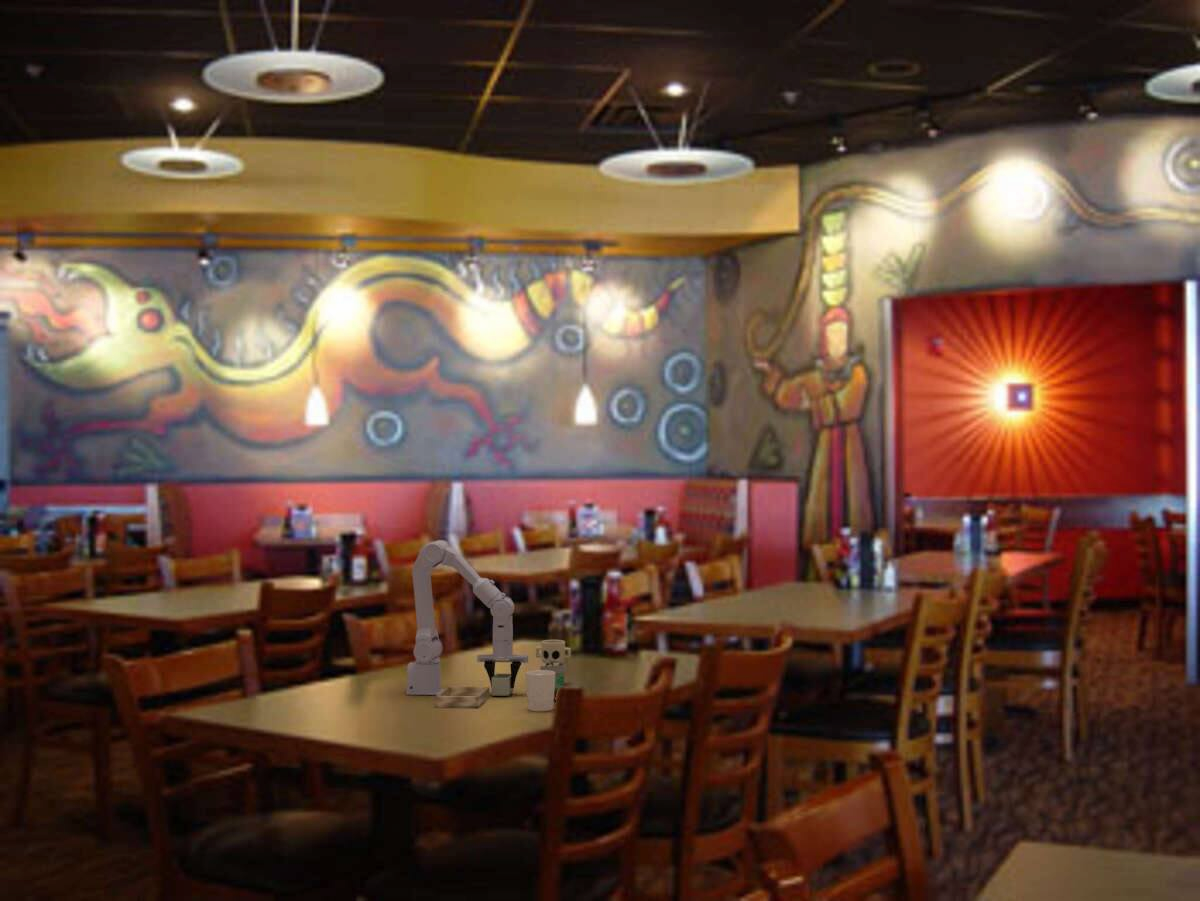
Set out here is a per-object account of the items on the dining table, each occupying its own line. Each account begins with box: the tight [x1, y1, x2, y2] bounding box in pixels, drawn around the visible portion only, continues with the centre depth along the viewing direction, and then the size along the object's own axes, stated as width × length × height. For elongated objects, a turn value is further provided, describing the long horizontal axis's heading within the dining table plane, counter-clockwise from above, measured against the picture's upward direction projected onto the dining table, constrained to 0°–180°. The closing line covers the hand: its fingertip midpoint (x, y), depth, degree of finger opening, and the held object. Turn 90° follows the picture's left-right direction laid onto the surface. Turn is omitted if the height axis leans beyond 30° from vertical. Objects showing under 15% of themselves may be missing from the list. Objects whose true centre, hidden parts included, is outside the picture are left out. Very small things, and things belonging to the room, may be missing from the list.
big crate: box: [434, 686, 490, 709], centre depth 388 cm, size 12×16×3 cm
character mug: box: [535, 639, 572, 666], centre depth 418 cm, size 11×7×13 cm, turn 76°
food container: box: [539, 660, 568, 702], centre depth 393 cm, size 12×6×10 cm, turn 168°
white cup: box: [525, 669, 555, 712], centre depth 378 cm, size 8×8×10 cm
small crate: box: [491, 673, 515, 697], centre depth 400 cm, size 5×8×5 cm, turn 174°
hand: (502, 687), depth 400 cm, fingers closed on small crate, 5 cm apart
